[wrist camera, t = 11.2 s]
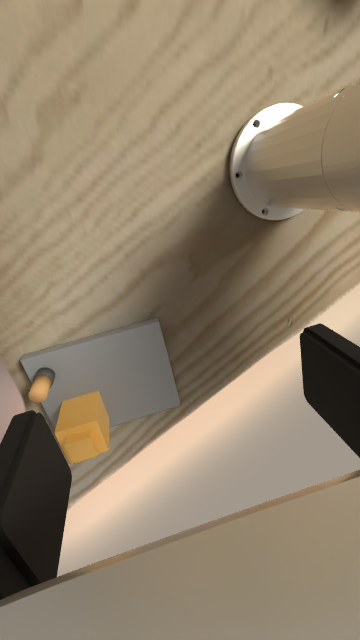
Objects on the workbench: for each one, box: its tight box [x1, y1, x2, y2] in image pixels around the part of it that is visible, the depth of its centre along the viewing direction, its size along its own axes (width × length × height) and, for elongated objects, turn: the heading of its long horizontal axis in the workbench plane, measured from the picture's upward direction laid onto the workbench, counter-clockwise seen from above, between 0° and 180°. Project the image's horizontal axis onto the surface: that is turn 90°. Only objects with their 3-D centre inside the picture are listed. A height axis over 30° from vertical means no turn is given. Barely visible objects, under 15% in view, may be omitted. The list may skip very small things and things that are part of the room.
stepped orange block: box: [55, 391, 109, 464], centre depth 40 cm, size 5×5×8 cm
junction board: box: [20, 318, 181, 430], centre depth 41 cm, size 18×14×6 cm
